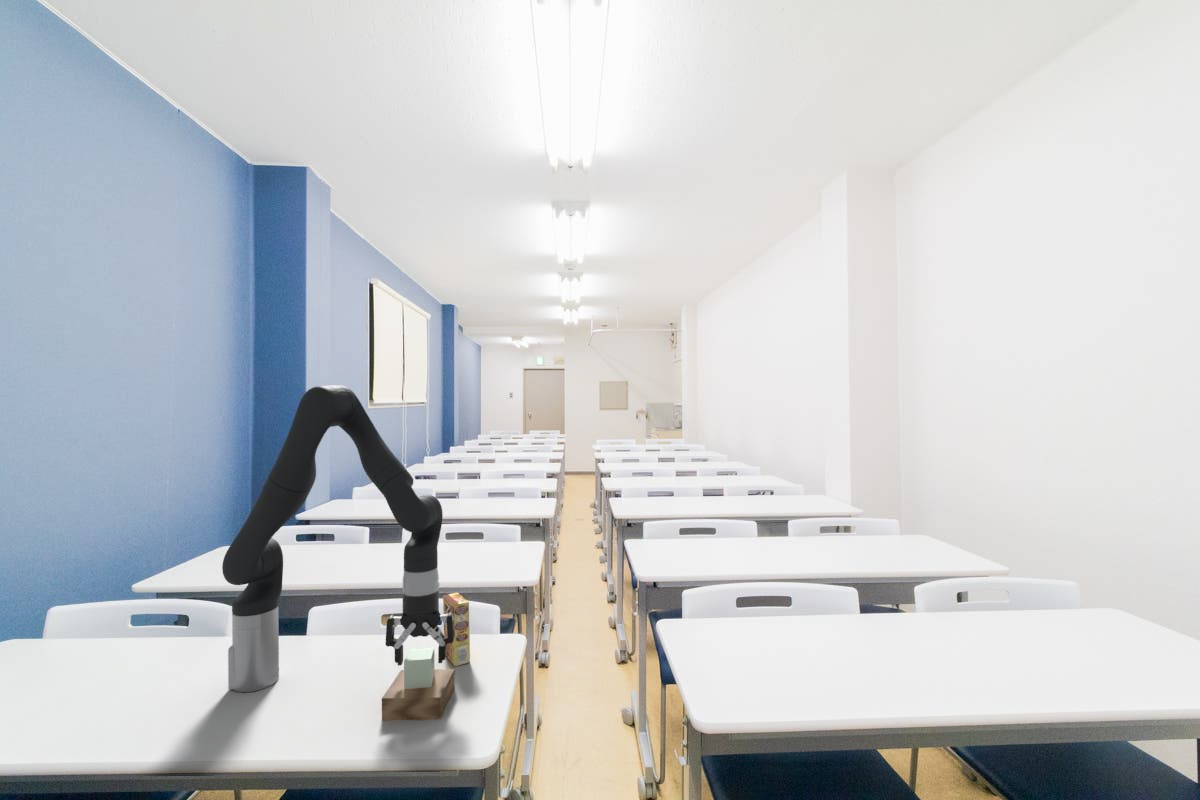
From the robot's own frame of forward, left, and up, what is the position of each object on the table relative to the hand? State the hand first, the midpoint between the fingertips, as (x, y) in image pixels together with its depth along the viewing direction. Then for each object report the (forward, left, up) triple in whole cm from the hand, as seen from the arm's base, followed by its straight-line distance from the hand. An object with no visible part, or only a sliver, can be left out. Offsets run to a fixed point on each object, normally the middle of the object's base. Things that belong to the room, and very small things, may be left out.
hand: (420, 662), depth 122 cm
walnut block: (0, -1, -9) cm, 9 cm away
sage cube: (0, -1, -4) cm, 4 cm away
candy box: (+5, +20, -9) cm, 22 cm away
